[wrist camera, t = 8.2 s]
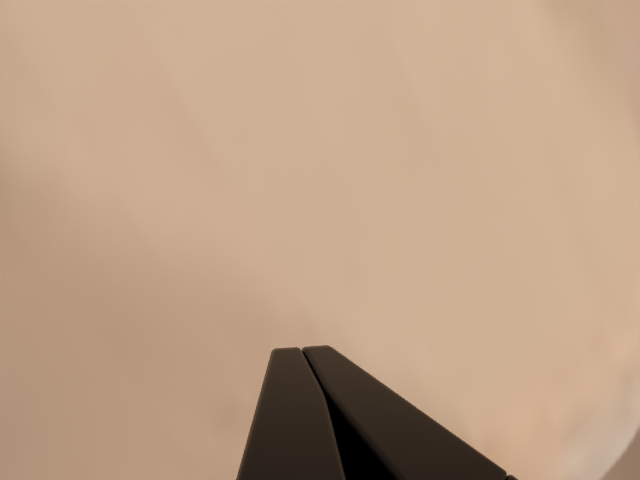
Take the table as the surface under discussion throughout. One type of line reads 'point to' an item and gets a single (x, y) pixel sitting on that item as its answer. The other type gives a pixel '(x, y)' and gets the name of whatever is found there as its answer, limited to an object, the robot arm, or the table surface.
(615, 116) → the table surface
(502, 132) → the table surface
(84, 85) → the table surface
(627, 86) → the table surface
